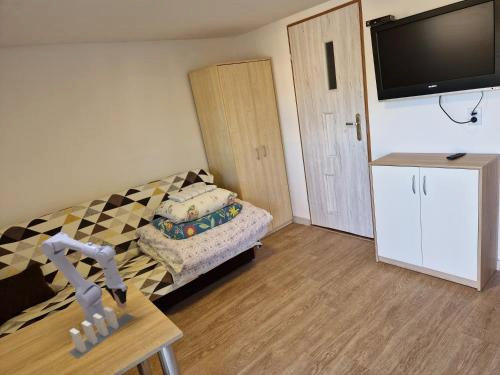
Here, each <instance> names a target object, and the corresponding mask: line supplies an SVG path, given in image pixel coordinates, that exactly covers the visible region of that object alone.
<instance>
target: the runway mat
mask: <svg viewBox="0 0 500 375" xmlns="http://www.w3.org/2000/svg"><path fill="white" fill-rule="evenodd" d="M135 318H136V316H134V315H132V314H129V313H127V312H125V313H123V314H121V315H120V316H119V317H116V319H117V322H118V325H119V327H118V328H117V329H114V328H112V327H110V326H109V324H107V325H106V327H107V330H108V333H109V334H108V335H107V336H106V337H104V336H102V335H101V334H99V333H98V331H97V332H95V335H96V338H97V340H98V342H97V343H96V344H95V345H93V344H92V343H90V342H88V340H87V339H86V340H83V342H84V344H85V347H86V351H85V352H83V353H81V352H80V351H78V350H77V349H76V347H75V346H74V348H73V349H71V350H69V351H68V354H70V355H71V356H73V357H75V358H76V359H77V360H79V359H81V358H82V357H83V356H85V355H87V353H89V352H90V351H91V350H93V349H94V348H96V347H97V346H98V345H99V344H101V343H102V342H104V341H105V340H106V339H108V338H109V337H111V336H112V335H113V334H115V333H116V332H118V331H119V330H120V329H121V328H123V327H125V326H126V325H128V323H130V322H131V321H133V320H134V319H135Z"/></svg>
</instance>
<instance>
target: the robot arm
mask: <svg viewBox="0 0 500 375" xmlns="http://www.w3.org/2000/svg"><path fill="white" fill-rule="evenodd" d="M67 249H69V250H72V251H73V250H74V251H77V252H81V255H83V256H84V257H87V258H90V259H94V260H96V262H97V263H98V264H99V265H100V268H101V269H102V271H103V272H102V273H103V275H104V278H105V280H103V283H104V285H106V287H105V288H104V290H105V291H107V293H109V295H110V296H111V297H112V300H113V301H114V302H116V301H115V298H114V294H113V291H112V289H113V288H116V289H118V290H116V291H114V293H115V294H116V295H117V296H118V298H119V300H120V302H121V303H122V304H123V303H125V302H126V303H127V292H128V289H129V287H128V285H126V284H125V283H124V282H123V281H124V280H125V279H124V278H123V277H121V275H120V271H119V268H118V265H117V262H116V259H115V256H116V255H117V254H116V253H117V252H116V249H115V247H113V246H111V245H109V244H108V245H105V246H104V245H103V246H102V245H99V244H95V243H93V242H92V241H90V242H86V243H83V242H81V241H79V240H76V239H74V238H72V237H70V236H69V235H68V233H64V232H58V233H56V234H55V235H53V236H51V237H49V238H47V239H46V240H43V241H42V242H41V244H40V251H41V252H42V253H43V254H44V256H46V258H47V259H48V260H49V261H51V263H52V264H53V265H54V266H55V267H56V269H58V271H59V272H60V273H61V274H62V275H63V276H64V278H65V279H66V280H67V281H68V282H69V283H70V284H71V286H72V287H73V288H74V289H75V295H74V298H75V299H76V301H77V303H78V306H80V308H82V311H83V314H84V316H85V317H84V318H85V319H84V321H87V322H89V323H91V324H92V327H96V324H95V321H94V319H93V315H95V314H96V313H97V314H99V315H101V316H103V319H104V321H105V320H107V318H106V315H105V313H104V310H103V309H104V308H105V307H104V305H103V301H102V298H103V297H102V296H103V293H104V292H103V289H102V287H100V286H99V285H97V284H96V283H95V281H87V279H85V277H84V276H83V275H82V274H81V273H80V272H79V270H78V269H77V268H76V267H75V265H73V264H72V262H71V261H70V260H69V259H68V258H67V257H66V255H65V253H66V252H65V251H66V250H67Z"/></svg>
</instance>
